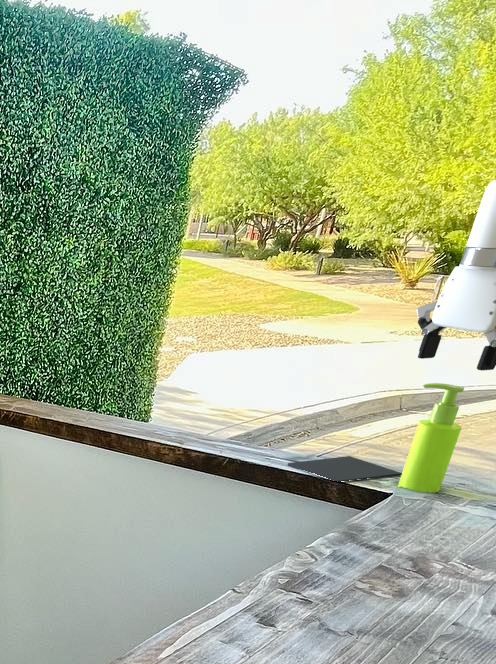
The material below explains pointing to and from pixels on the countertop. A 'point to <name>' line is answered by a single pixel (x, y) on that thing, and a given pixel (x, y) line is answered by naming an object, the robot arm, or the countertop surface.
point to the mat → (344, 468)
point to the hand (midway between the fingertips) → (454, 363)
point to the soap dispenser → (433, 444)
